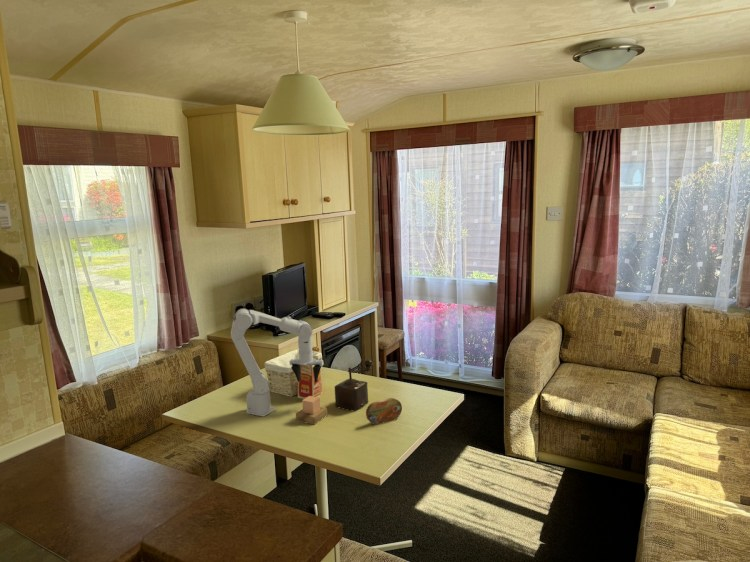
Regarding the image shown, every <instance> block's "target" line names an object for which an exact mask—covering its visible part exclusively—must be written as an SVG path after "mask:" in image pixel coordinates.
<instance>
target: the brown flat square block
mask: <svg viewBox="0 0 750 562" xmlns="http://www.w3.org/2000/svg"><path fill="white" fill-rule="evenodd" d="M326 415H327V416H328V408H327V407H321V406H320V410H319V411H317V412H316V413H314V414H309V413H304V412H303V408H302V409H300V410H299V411H297V412H295V421H296V422H300V421H301V423H305V422H307V423H306V424H310V423H312V424H311V425H317V424H318V423H319V422H320V421H322V420H323V419H325V418H326V417H327V416H326ZM325 416H326V417H325ZM324 417H325V418H324ZM322 418H323V419H322ZM321 419H322V420H321ZM318 421H319V422H318ZM317 422H318V423H317Z"/></svg>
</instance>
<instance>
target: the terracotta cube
mask: <svg viewBox="0 0 750 562" xmlns="http://www.w3.org/2000/svg"><path fill="white" fill-rule="evenodd" d="M320 407H321V398H320V396H319V397H313V396H308V397H307V398H305V399H302V409H303V412H304V413H309V414H314V413H316V412H317V411H319V410H320Z"/></svg>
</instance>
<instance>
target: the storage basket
mask: <svg viewBox="0 0 750 562" xmlns="http://www.w3.org/2000/svg"><path fill="white" fill-rule="evenodd" d="M312 351H313V355H316V356H319V357H318V360H323V355H322V352H320V351H315V350H312ZM291 359H299V348H296V349H295V350H291V351H289V352H286V353H284V354H282V355H279V356H276V357H274V358H272V359H268V360H267V361H265V362H264V369H265V373H266V378H267V382H268V384H269V391H270V393H275V394H278V395H281V396H282V395H283V396H286V397H294V396H297V395H298V381H297V378H296V375H295V373H294V371H293V370H292V368H291V367H292V365H290V362H289V361H290V360H291ZM322 368H323V366H322V367H321V369H320V373H321V380H322V381H323V379H322V378H323V375H322V374H323V372H322V371H323V369H322Z"/></svg>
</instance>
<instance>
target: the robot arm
mask: <svg viewBox="0 0 750 562" xmlns="http://www.w3.org/2000/svg"><path fill="white" fill-rule="evenodd" d="M259 323H262V324H267V325H271V326H274V327H278V328H279V330H280V331H283V332H285V333H289V334H293V335H297V337H298V339H297V343H298V344H297V346H298V349H299V359H291V360H290V361H289V362H290V365H292V367H291V368H292V370H293V371H294V373H295V375H296V378H297V381H298V382H299V381H300V380H301V374H300V368H301V365H315V366H314V367H313V371H314V381H315V382H317V381H318V376H319V372H320V369H321V367H322V368H323V366H324V364H325V363H324V360H323V359H322V360H317V359H313V351H314V350H313V340H312V334H313V328H312V326H311V325H310V324H309V323H308V322H306V321H304V320H301V319H299V320H297V319H293V318H292V317H291V316H287V317H286V316H284V317H282V318H279V317H276V316H272V315H269V314H268V313H267V314H266V313H264V312H261V311H257V310H253V309H247V308H240V309H238V310H237V311H236V312H235V314H234V315H233V318H232V325H231V329H230V338H231V340H232V343H233V344H234V346H235V349H236V351H237V352H238V354H239V356H240V359H241V360H242V363H243V364H244V367H245V369H246V370H247V373H248V375H249V377H250V381H251V384H252V389H250V390H249V391H248V392H247V393H246V397H245V398H246V399H245V400H246V409H247V410H246V412H245V413H246V414H249V415H253V416H257V417H265V416H268V415H269V414H271V413H272V412H274V411H276V407H272V404H271V391H270V388H269V383H268V378H267V375H266V374H265V373H263V372H262V371H261V368H260V367H259V365H258V363H257V361H256V359H255V357H254V354H253V353H252V351H251V348H250V346H249V345H248V342H247V341H246V338H245V333H246V332H247V330H248V329H249V328H250V327H251V326H252V324H253V325H254V326H255V325H258V324H259Z"/></svg>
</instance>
